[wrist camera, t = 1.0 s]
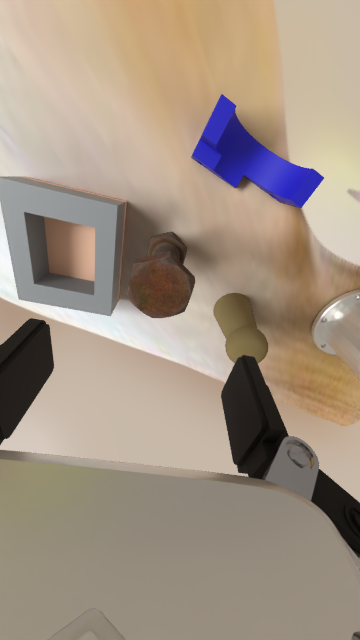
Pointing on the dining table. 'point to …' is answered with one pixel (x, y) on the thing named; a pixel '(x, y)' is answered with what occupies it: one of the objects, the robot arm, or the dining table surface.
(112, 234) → the socket block
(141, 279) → the bolt
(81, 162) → the dining table surface
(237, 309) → the cork
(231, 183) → the cable clip
